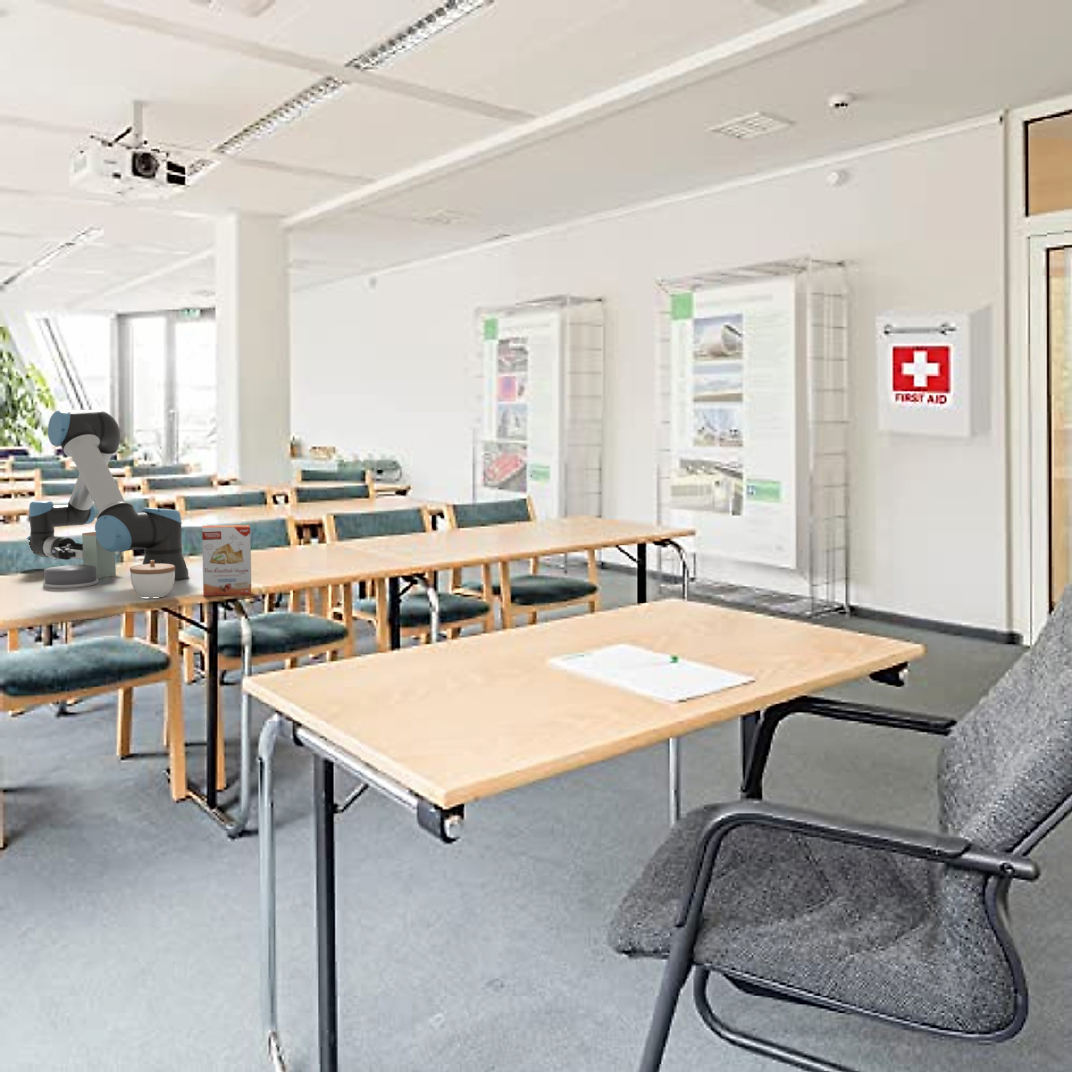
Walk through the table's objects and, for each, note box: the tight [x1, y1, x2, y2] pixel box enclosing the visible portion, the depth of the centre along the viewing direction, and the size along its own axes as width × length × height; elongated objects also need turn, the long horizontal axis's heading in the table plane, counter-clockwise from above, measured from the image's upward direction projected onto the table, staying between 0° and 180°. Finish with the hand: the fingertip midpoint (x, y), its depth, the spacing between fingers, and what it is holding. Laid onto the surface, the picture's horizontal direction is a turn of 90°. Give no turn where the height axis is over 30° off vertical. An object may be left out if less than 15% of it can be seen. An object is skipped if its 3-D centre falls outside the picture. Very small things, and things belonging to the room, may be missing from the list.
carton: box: [81, 531, 117, 579], centre depth 348 cm, size 7×7×14 cm
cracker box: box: [201, 524, 252, 597], centre depth 315 cm, size 14×6×21 cm, turn 105°
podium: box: [42, 564, 99, 589], centre depth 332 cm, size 16×16×5 cm
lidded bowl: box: [129, 560, 176, 598], centre depth 310 cm, size 13×13×11 cm
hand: (101, 552), depth 348 cm, fingers open, 13 cm apart
